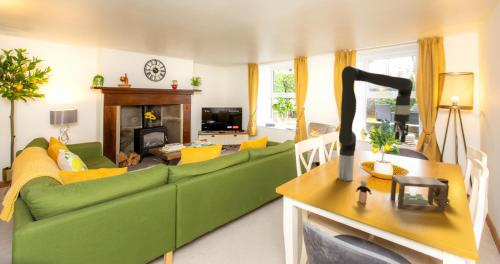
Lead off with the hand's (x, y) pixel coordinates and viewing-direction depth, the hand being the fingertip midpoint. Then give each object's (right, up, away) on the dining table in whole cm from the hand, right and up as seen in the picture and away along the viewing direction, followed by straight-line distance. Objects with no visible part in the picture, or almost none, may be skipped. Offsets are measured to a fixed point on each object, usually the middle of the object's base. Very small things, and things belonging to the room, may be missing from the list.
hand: (399, 141), depth 144 cm
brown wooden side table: (-2, -33, -17) cm, 37 cm away
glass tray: (-1, -32, -13) cm, 35 cm away
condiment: (+15, -32, -11) cm, 37 cm away
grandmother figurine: (-28, -33, -14) cm, 45 cm away
